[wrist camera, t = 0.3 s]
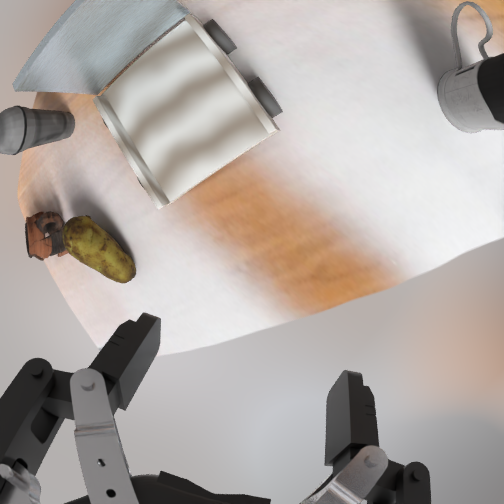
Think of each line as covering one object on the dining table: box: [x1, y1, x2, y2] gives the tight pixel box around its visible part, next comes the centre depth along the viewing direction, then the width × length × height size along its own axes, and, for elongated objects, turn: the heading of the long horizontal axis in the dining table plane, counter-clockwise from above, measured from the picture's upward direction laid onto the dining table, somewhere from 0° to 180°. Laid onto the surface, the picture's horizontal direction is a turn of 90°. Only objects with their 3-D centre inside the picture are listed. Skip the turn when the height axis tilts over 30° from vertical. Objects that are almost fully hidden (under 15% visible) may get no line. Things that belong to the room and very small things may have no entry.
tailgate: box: [13, 0, 191, 95], centre depth 22 cm, size 2×16×14 cm, turn 123°
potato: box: [62, 215, 136, 283], centre depth 42 cm, size 8×13×8 cm, turn 24°
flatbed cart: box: [93, 13, 283, 209], centre depth 32 cm, size 18×19×7 cm
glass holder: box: [438, 1, 504, 133], centre depth 20 cm, size 9×14×15 cm, turn 32°
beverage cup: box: [0, 106, 75, 155], centre depth 30 cm, size 7×7×20 cm
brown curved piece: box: [25, 212, 68, 260], centre depth 45 cm, size 12×10×8 cm
